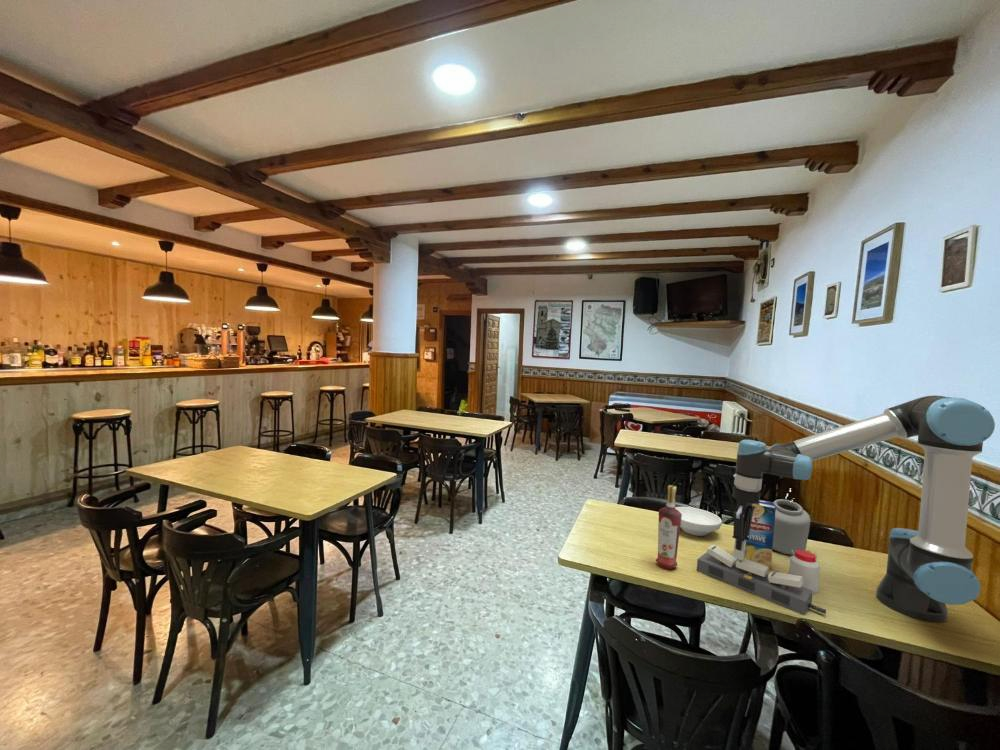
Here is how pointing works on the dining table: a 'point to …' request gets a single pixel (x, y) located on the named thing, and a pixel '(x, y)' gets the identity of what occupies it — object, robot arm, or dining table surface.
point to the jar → (790, 527)
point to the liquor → (668, 531)
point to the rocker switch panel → (758, 585)
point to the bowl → (698, 521)
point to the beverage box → (761, 534)
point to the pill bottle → (805, 568)
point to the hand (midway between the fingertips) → (738, 558)
